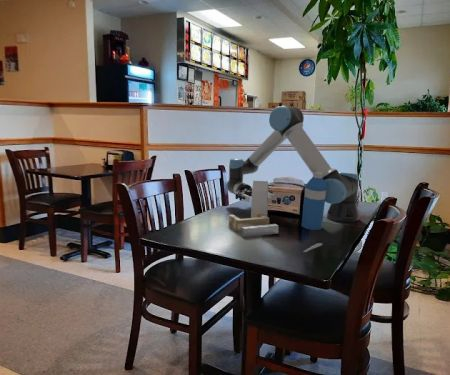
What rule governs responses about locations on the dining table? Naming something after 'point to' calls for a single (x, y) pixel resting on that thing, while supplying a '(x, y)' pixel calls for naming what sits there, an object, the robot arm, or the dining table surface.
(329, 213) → the robot arm
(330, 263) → the dining table surface
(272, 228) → the stop rail
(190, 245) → the dining table surface
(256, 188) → the light grey rectangular block
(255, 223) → the cradle
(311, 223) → the water bottle
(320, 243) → the butter knife
